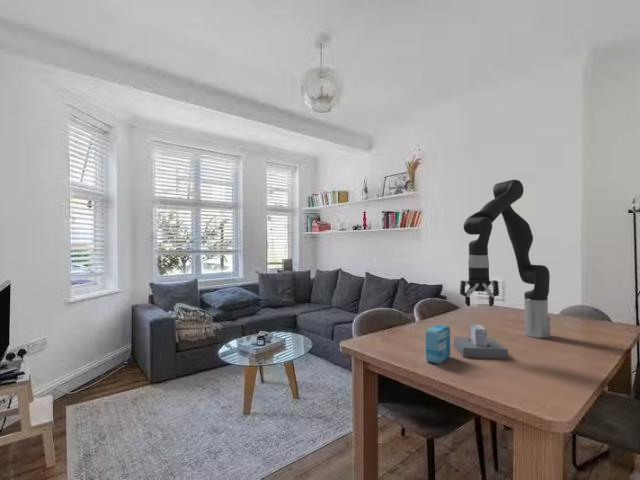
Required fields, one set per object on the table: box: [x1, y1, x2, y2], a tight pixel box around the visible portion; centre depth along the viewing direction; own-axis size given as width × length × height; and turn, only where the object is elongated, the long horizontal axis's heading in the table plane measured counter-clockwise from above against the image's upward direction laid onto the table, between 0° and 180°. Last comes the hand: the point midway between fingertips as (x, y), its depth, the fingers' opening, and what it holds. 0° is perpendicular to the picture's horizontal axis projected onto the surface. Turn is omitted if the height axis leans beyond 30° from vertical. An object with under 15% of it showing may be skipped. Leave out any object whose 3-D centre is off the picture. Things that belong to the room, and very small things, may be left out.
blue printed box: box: [425, 324, 451, 365], centre depth 126 cm, size 12×4×12 cm, turn 138°
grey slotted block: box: [453, 336, 509, 360], centre depth 135 cm, size 16×15×4 cm
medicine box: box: [470, 324, 488, 347], centre depth 135 cm, size 8×4×9 cm, turn 170°
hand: (479, 306), depth 136 cm, fingers open, 8 cm apart
